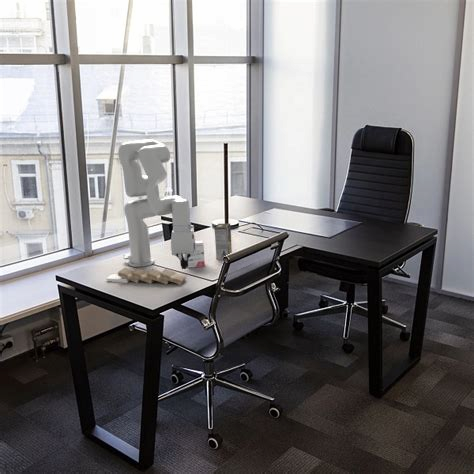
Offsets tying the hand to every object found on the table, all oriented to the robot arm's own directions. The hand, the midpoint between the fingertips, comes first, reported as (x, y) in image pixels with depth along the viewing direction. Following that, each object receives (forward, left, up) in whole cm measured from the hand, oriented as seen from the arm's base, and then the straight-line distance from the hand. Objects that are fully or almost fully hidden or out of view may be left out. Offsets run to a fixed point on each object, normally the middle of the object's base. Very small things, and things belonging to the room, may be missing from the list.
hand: (184, 268), depth 259 cm
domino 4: (-1, 0, -6) cm, 6 cm away
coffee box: (+7, +39, -7) cm, 40 cm away
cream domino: (-26, 0, -7) cm, 27 cm away
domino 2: (-14, 0, -6) cm, 16 cm away
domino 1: (-21, 0, -6) cm, 22 cm away
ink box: (-3, +24, -7) cm, 25 cm away
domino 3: (-7, 0, -6) cm, 9 cm away
